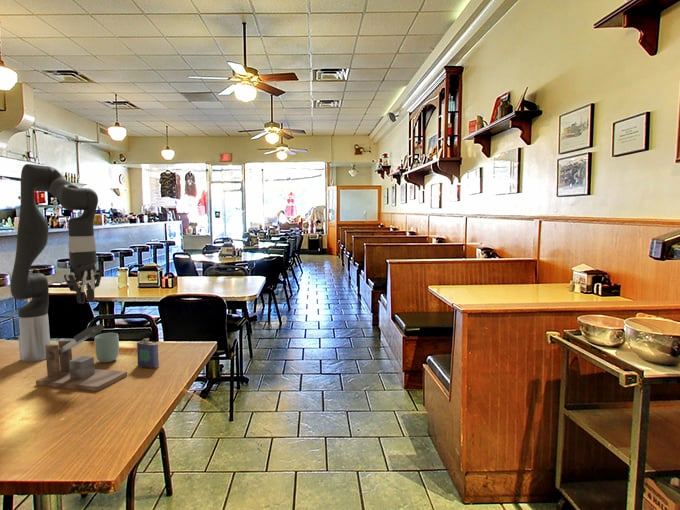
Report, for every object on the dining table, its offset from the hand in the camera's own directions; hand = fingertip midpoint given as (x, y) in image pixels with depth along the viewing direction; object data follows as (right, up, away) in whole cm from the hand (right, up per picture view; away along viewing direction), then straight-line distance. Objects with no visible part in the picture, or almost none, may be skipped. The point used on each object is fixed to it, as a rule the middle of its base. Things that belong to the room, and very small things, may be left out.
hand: (86, 301), depth 139 cm
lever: (-4, -14, +2) cm, 15 cm away
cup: (-5, -25, +22) cm, 34 cm away
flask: (+13, -26, +16) cm, 33 cm away
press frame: (-3, -27, +3) cm, 27 cm away
